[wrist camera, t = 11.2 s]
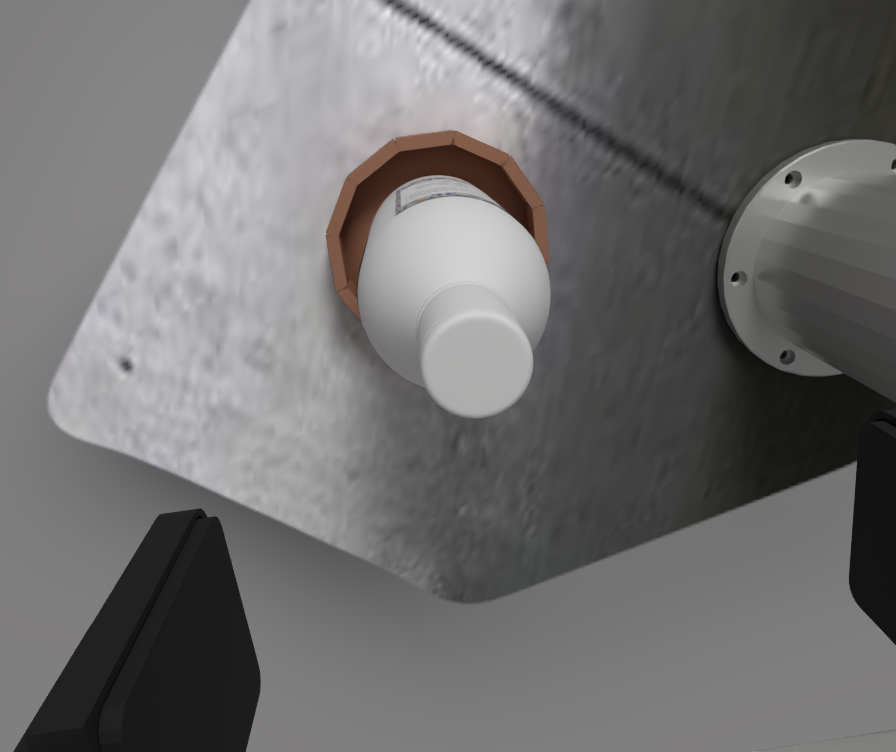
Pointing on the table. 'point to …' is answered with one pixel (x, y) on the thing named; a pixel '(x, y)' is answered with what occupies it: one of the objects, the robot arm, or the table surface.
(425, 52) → the table surface
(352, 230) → the ring dish
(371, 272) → the bath foam
